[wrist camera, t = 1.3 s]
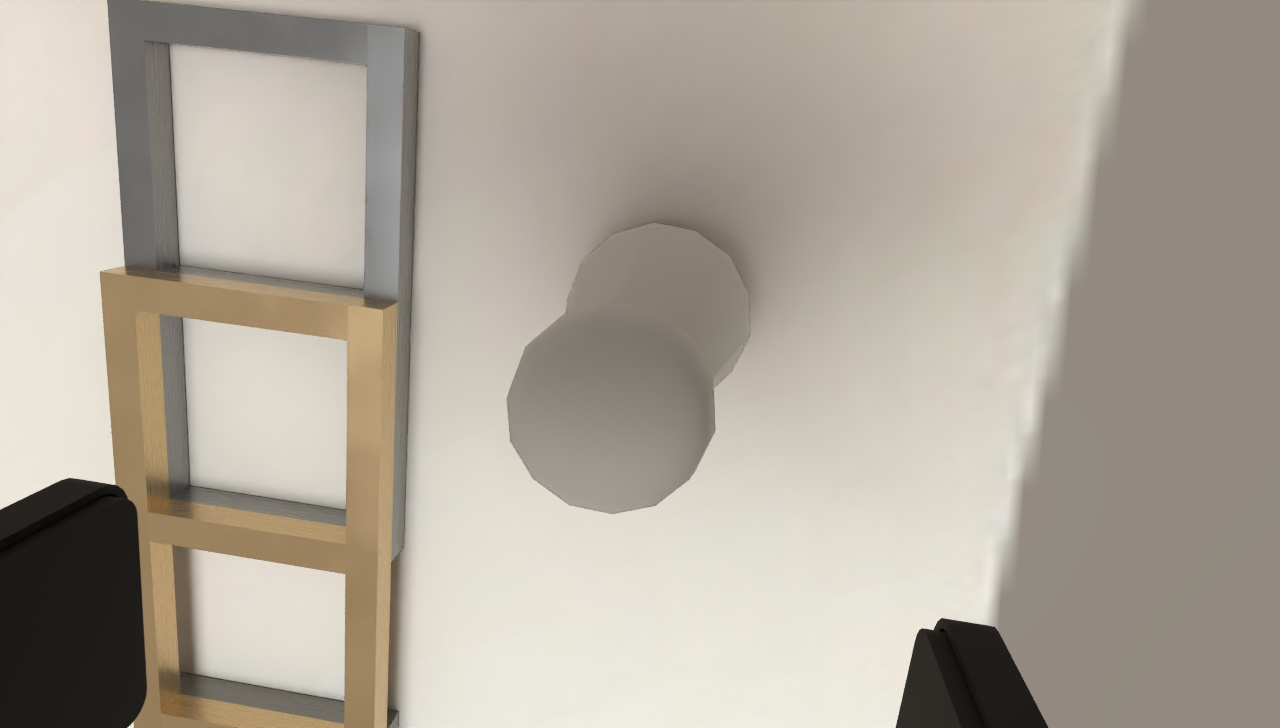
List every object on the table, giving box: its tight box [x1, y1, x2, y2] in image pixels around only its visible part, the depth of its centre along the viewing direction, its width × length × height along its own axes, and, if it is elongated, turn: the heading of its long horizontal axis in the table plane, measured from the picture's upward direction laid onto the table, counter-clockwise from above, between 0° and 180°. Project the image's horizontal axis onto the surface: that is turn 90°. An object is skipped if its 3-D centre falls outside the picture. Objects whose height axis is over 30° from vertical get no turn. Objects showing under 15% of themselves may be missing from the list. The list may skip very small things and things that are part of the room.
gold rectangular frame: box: [100, 266, 399, 728], centre depth 31 cm, size 19×10×2 cm, turn 174°
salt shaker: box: [507, 222, 750, 514], centre depth 22 cm, size 6×6×13 cm
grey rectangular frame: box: [107, 0, 419, 562], centre depth 30 cm, size 19×10×1 cm, turn 174°
